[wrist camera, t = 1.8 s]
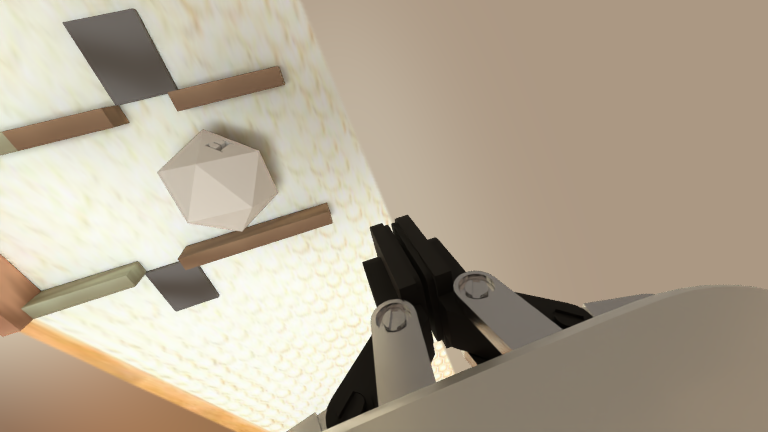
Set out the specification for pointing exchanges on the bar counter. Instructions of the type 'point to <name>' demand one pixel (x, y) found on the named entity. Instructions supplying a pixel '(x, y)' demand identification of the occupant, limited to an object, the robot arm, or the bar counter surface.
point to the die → (218, 182)
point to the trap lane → (124, 85)
